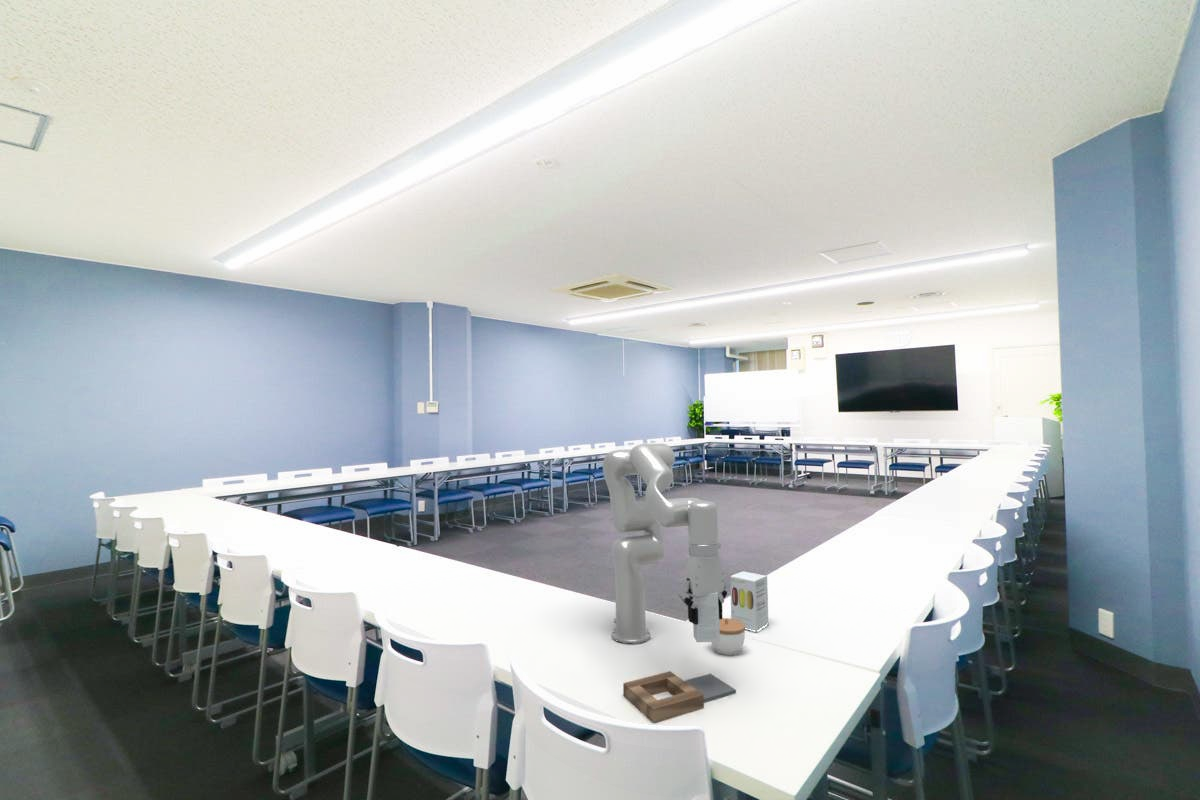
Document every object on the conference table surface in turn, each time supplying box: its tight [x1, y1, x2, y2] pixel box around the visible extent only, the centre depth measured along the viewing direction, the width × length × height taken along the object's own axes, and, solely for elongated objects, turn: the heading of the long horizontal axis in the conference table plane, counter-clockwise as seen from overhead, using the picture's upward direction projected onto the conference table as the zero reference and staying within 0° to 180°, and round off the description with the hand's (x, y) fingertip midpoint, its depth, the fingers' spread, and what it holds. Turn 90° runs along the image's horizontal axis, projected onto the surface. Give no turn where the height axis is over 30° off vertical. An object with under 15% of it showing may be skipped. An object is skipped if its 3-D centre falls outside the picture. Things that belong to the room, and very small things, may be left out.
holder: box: [622, 670, 705, 724], centre depth 125 cm, size 14×14×3 cm
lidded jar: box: [710, 617, 746, 656], centre depth 154 cm, size 11×11×9 cm
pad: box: [683, 673, 737, 703], centre depth 130 cm, size 10×10×1 cm
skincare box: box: [692, 592, 720, 643], centre depth 132 cm, size 6×4×12 cm
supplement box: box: [730, 570, 769, 631], centre depth 174 cm, size 10×9×17 cm
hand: (705, 619), depth 132 cm, fingers closed on skincare box, 7 cm apart
